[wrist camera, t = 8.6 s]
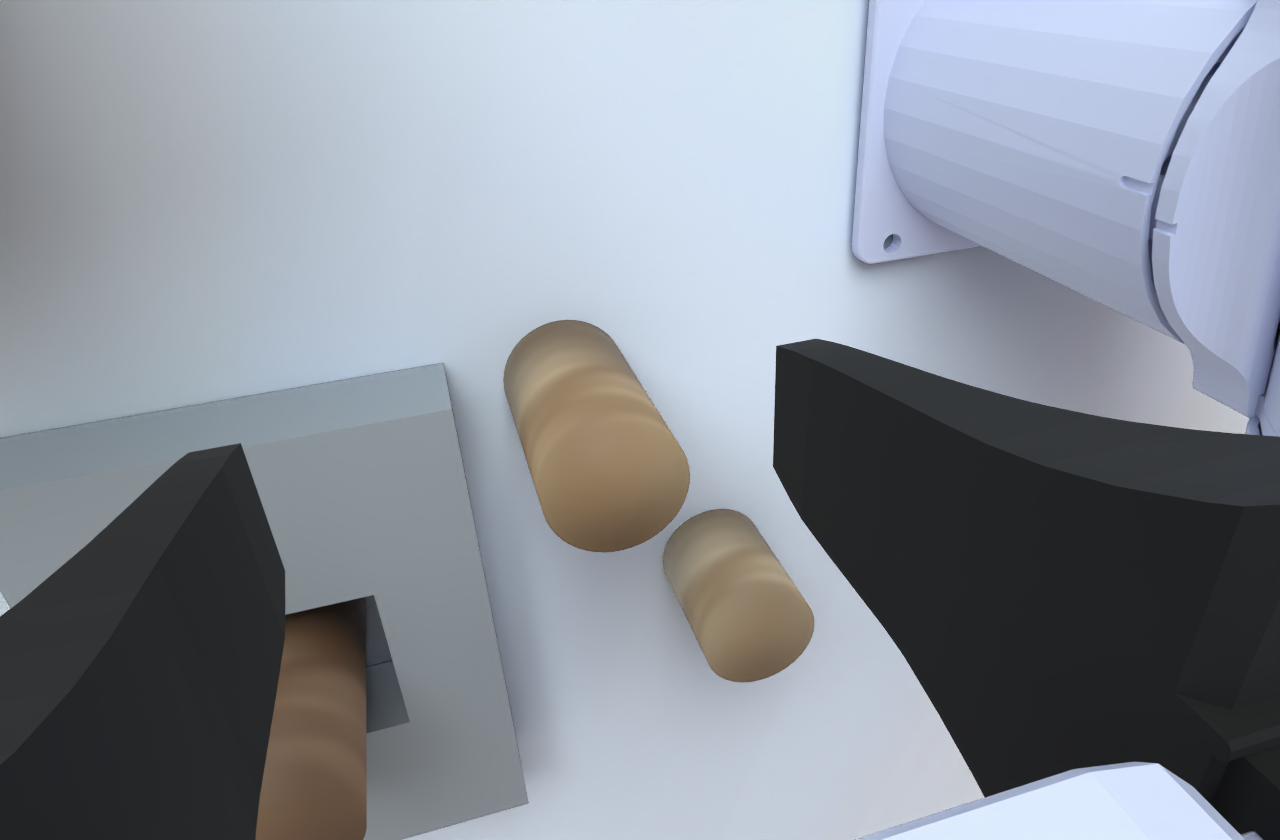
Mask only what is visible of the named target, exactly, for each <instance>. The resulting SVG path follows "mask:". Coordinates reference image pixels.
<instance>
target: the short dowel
mask: <svg viewBox="0 0 1280 840" xmlns="http://www.w3.org/2000/svg"><path fill="white" fill-rule="evenodd" d="M663 568H664V571H665V574H666V576H667V578H668V580H669V582H670V584H671V586H672V588H673V590H674V593H675V595H676V597H677V599H678V601H679V603H680V605H681V607H682V609H683V611H684V613H685V616H686V618H687V620H688V622H689V624H690V626H691V628H692V630H693V632H694V634H695V636H696V638H697V641H698V643H699V645H700V647H701V649H702V651H703V653H704V655H705V657H706V659H707V661H708V663H709V665H710V667H711V669H712V670H713V671H714V672H715V673H716V674H717V675H718V676H720V677H722V678H724V679H726V680H730V681H734V682H752V681H757V680H761V679H764V678H767V677H770V676H772V675H774V674H776V673H778V672H780V671H782V670H783V669H785V668H786V667H788V666H789V665H790V664H792V663H793V662H794V661H795V660H796V659H797V658H798V657H799V656H800V655H801V654H802V652H803V651H804V650H805V648H806V647H807V645H808V643H809V642H810V639H811V637H812V634H813V630H814V616H813V613H812V610H811V609H810V607H809V605H808V604H807V602H806V601H805V599H804V598H803V596H802V595H801V593H800V592H799V591H798V589H797V588H796V586H795V585H794V583H793V582H792V580H791V579H790V577H789V576H788V574H787V573H786V571H785V570H784V568H783V567H782V565H781V564H780V562H779V561H778V559H777V558H776V556H775V555H774V553H773V552H772V550H771V549H770V547H769V546H768V544H767V543H766V541H765V540H764V539H763V537H762V536H761V534H760V533H759V531H758V530H757V528H756V527H755V525H754V524H753V522H752V521H751V520H750V519H749V518H748V517H747V516H745V515H744V514H742V513H740V512H737V511H734V510H729V509H716V510H710V511H706V512H703V513H701V514H698V515H696V516H694V517H692V518H690V519H689V520H687V521H686V522H685V523H683V524H682V525H681V526H680V527H679V528H678V529H677V530H676V531H675V532H674V533H673V534H672V536H671V537H670V539H669V540H668V542H667V544H666V547H665V550H664V553H663Z"/></svg>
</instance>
